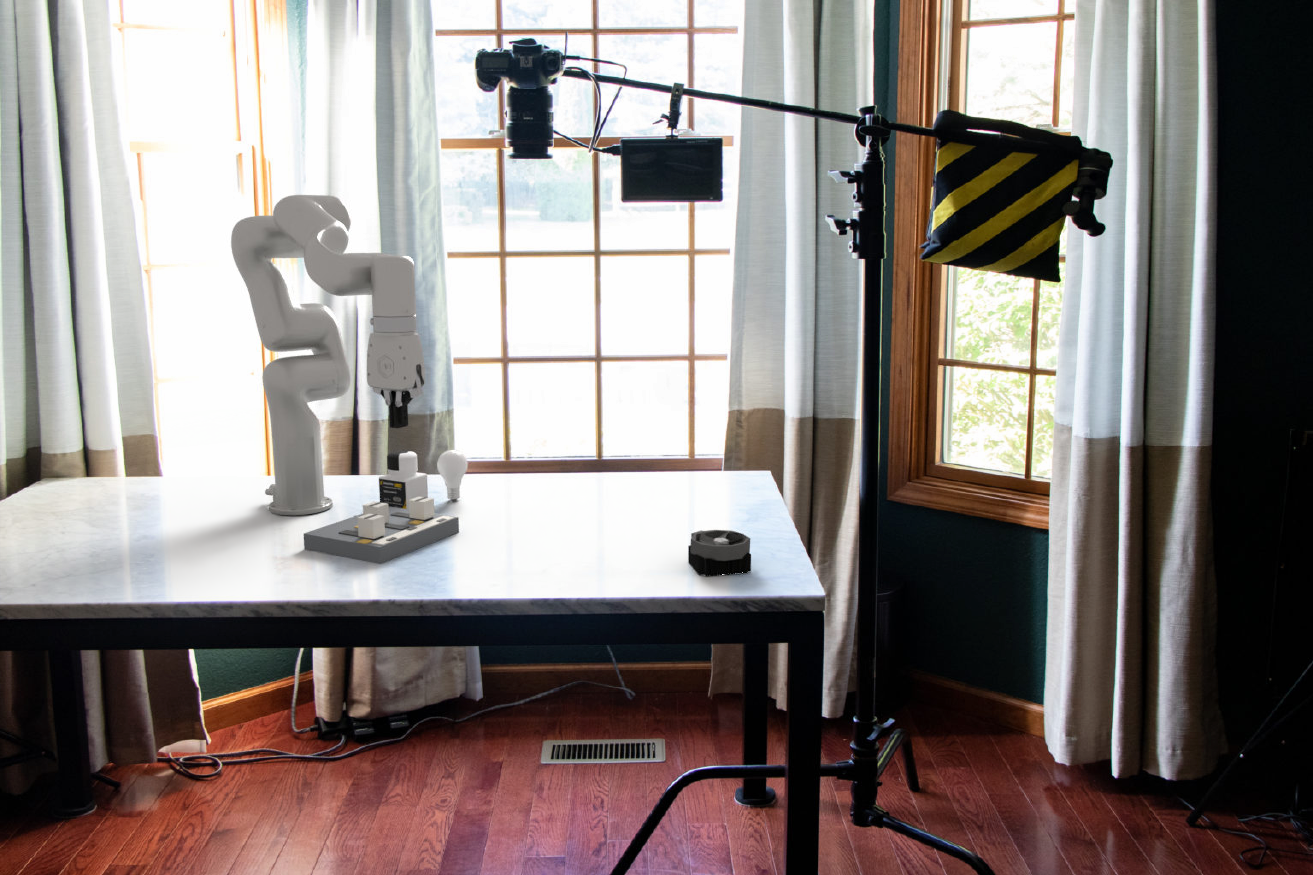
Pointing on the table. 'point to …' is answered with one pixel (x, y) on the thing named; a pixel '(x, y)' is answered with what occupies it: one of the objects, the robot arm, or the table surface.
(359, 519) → the switch
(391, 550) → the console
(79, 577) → the table surface
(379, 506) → the switch
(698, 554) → the cpu cooler
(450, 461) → the lightbulb
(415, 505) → the switch
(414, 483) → the medicine bottle
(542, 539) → the table surface
